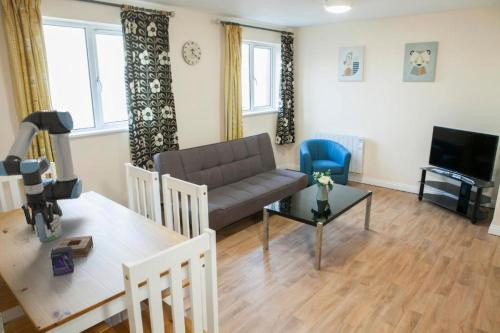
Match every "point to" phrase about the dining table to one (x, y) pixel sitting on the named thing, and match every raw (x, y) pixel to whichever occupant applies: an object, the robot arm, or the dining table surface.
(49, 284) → the dining table surface
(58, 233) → the ink box
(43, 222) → the peg
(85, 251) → the socket
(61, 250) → the box
